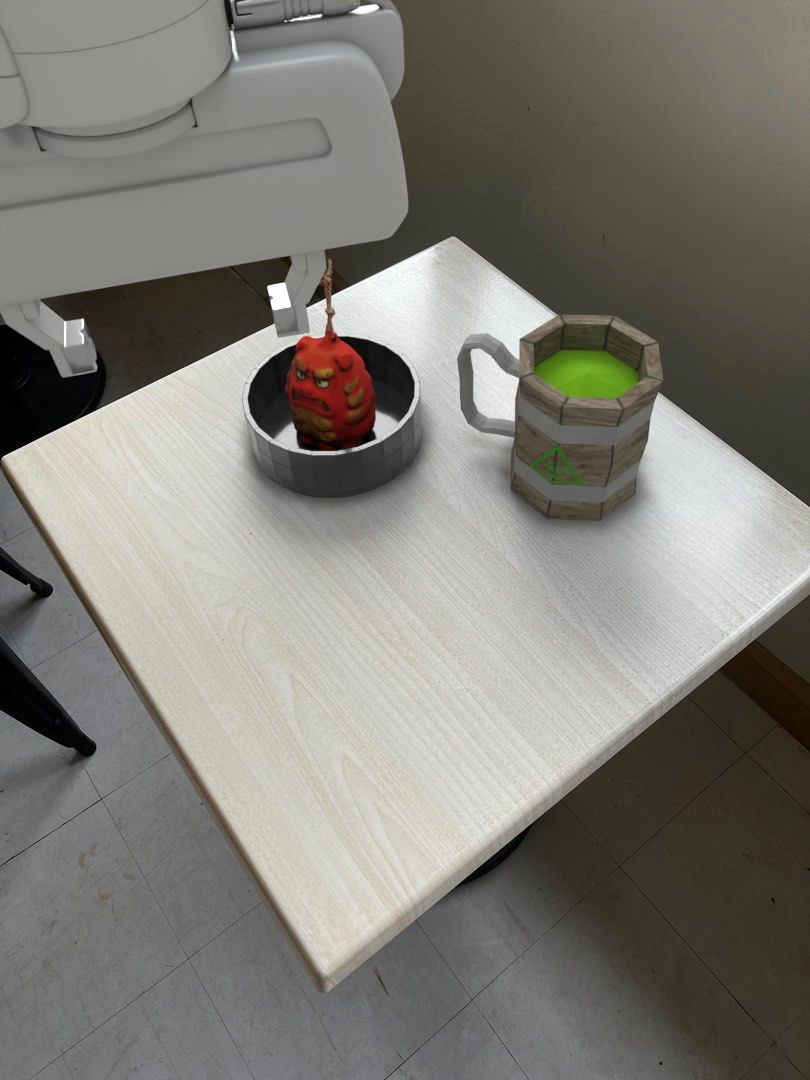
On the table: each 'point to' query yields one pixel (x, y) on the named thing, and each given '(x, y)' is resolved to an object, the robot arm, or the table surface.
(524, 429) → the mug
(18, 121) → the robot arm
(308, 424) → the red clay folk toy
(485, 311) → the table surface
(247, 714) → the table surface
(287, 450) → the pan
